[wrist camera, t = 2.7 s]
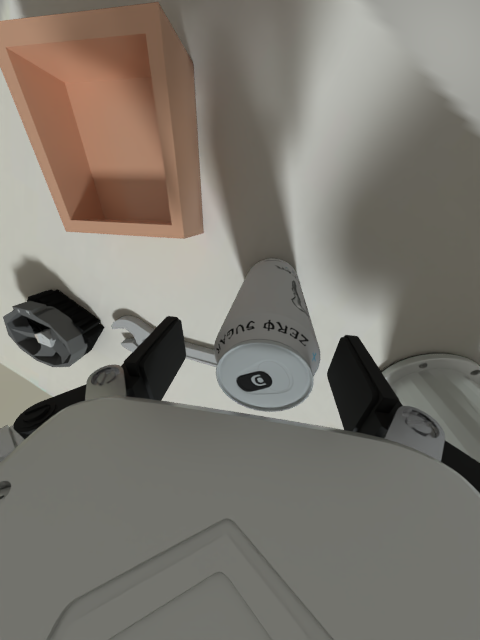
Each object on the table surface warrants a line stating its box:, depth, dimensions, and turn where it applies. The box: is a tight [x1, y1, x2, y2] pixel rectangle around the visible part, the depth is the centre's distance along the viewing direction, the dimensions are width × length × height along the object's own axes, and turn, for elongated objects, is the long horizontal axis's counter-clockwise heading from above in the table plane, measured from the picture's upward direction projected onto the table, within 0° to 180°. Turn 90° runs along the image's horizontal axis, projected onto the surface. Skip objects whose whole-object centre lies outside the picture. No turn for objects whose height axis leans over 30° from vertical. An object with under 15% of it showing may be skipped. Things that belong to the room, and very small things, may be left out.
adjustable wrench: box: [111, 316, 217, 367], centre depth 30 cm, size 25×6×2 cm, turn 73°
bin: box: [0, 2, 204, 239], centre depth 16 cm, size 12×12×5 cm
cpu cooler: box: [3, 290, 104, 367], centre depth 29 cm, size 10×6×10 cm
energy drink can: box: [214, 259, 320, 412], centre depth 16 cm, size 6×6×15 cm
